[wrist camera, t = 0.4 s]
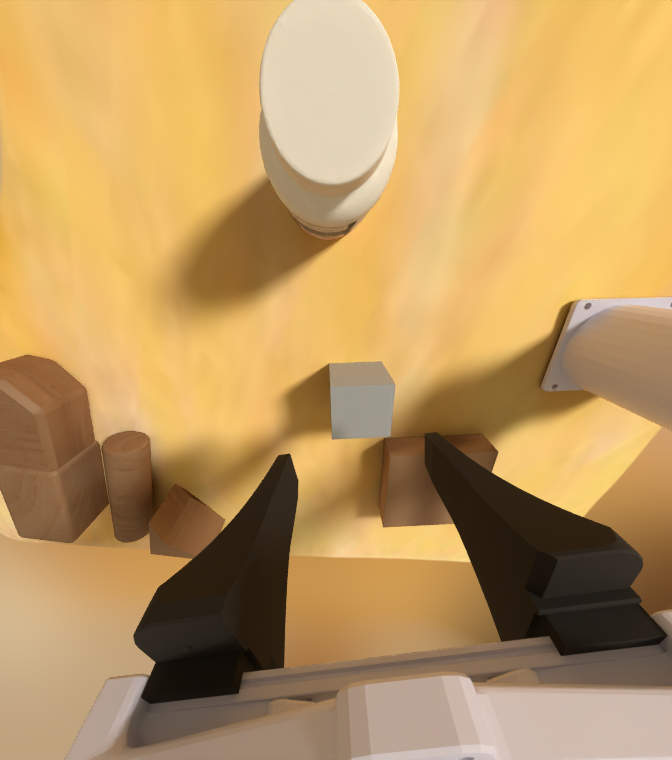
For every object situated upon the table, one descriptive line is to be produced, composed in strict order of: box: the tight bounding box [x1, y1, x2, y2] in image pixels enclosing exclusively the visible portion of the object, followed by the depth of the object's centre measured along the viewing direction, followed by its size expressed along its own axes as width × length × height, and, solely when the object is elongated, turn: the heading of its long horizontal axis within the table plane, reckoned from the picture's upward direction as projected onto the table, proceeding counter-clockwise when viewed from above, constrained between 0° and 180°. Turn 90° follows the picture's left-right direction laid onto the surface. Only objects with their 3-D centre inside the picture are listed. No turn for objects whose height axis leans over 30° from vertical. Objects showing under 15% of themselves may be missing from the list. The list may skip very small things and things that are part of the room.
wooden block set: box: [0, 355, 225, 559], centre depth 22 cm, size 17×6×18 cm
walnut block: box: [379, 434, 498, 527], centre depth 26 cm, size 10×10×3 cm
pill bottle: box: [259, 0, 399, 240], centre depth 11 cm, size 5×5×10 cm
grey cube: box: [329, 362, 395, 439], centre depth 20 cm, size 4×4×4 cm
